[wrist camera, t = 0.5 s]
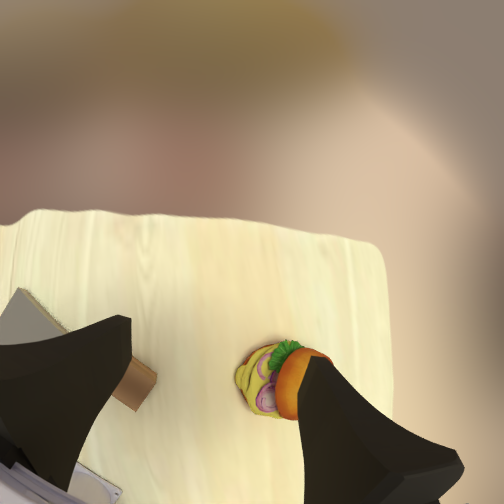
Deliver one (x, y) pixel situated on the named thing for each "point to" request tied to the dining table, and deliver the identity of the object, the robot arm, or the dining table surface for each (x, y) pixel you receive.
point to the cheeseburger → (275, 378)
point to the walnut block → (135, 384)
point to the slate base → (27, 321)
